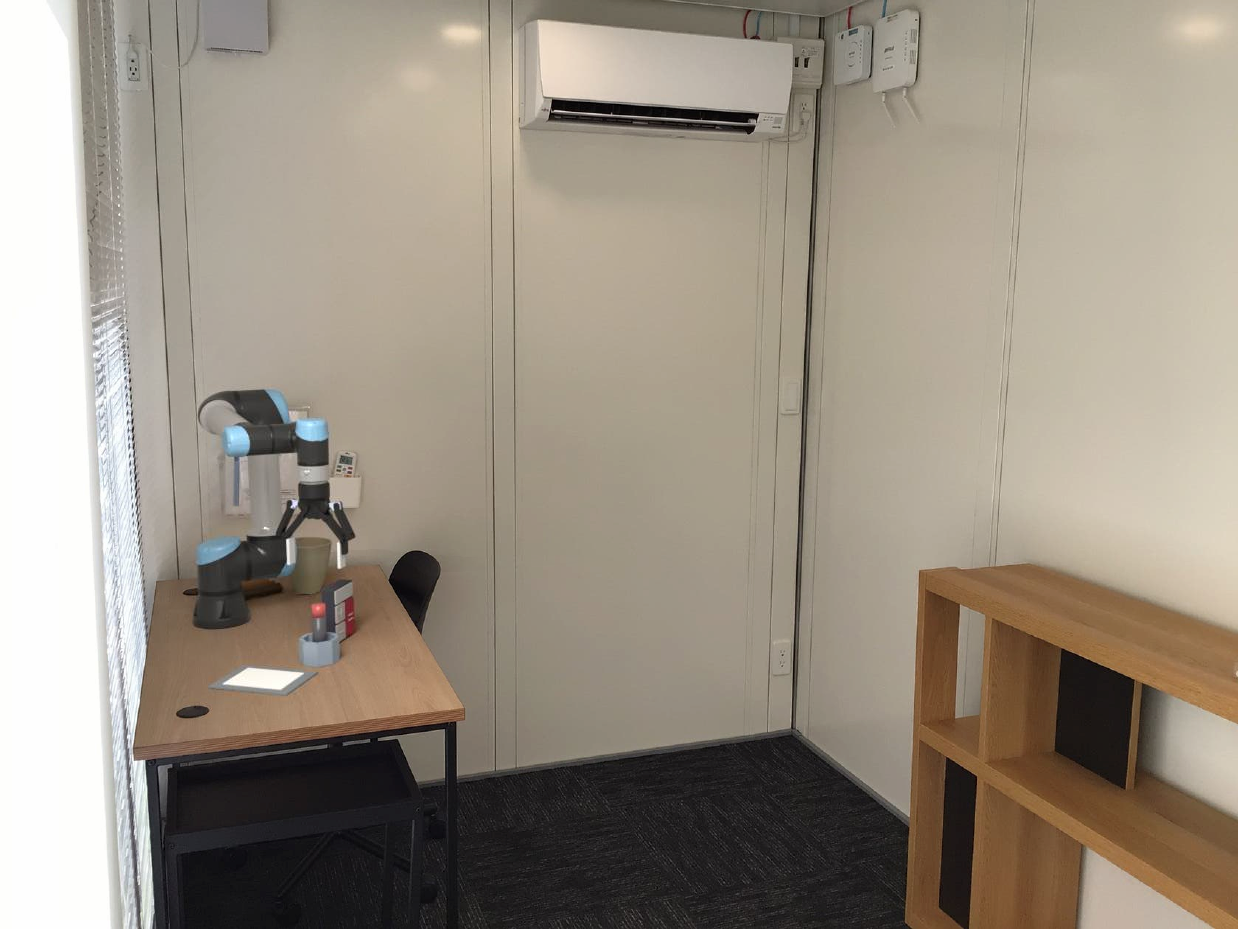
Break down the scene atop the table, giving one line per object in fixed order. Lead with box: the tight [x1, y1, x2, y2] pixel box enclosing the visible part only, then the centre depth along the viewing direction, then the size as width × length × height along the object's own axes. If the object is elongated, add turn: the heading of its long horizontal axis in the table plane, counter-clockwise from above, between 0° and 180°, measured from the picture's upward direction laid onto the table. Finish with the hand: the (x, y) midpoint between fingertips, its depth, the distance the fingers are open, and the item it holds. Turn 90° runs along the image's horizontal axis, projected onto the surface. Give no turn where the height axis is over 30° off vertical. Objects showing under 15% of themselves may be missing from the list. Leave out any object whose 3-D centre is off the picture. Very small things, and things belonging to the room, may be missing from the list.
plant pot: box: [288, 536, 333, 595], centre depth 321 cm, size 15×15×16 cm
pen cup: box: [298, 632, 341, 668], centre depth 261 cm, size 9×9×6 cm
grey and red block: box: [320, 578, 356, 643], centre depth 277 cm, size 11×4×15 cm, turn 168°
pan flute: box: [242, 579, 284, 601], centre depth 320 cm, size 25×3×25 cm
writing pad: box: [207, 664, 319, 697], centre depth 247 cm, size 20×15×1 cm
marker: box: [310, 602, 327, 643], centre depth 260 cm, size 3×3×14 cm
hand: (316, 565), depth 258 cm, fingers open, 13 cm apart
